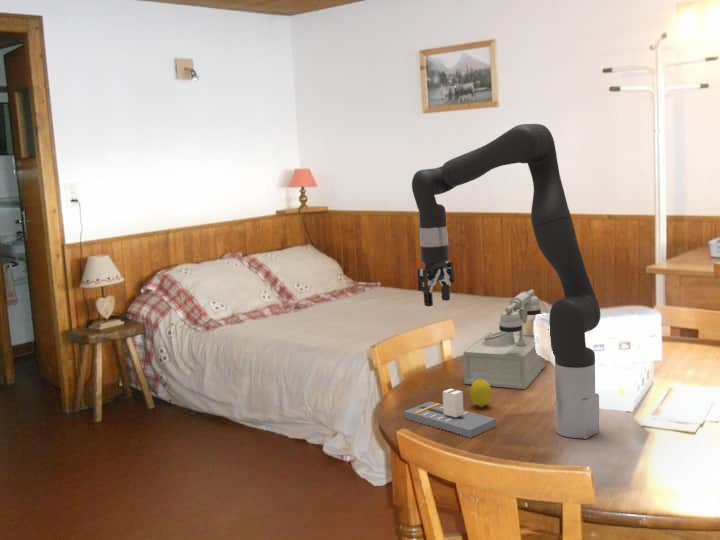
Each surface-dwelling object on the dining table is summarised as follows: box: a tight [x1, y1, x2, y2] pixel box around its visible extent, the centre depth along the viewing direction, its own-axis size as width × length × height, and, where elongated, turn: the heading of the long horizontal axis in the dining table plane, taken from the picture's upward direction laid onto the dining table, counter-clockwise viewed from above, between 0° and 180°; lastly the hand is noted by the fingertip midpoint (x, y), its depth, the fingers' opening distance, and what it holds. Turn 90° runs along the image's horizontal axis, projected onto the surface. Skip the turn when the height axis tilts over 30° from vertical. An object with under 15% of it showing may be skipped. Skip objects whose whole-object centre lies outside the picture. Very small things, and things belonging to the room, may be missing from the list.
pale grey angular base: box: [463, 289, 547, 390], centre depth 245 cm, size 32×20×25 cm, turn 154°
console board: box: [404, 400, 497, 439], centre depth 209 cm, size 22×10×2 cm, turn 42°
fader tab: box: [442, 388, 464, 418], centre depth 207 cm, size 4×3×6 cm
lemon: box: [469, 378, 492, 408], centre depth 218 cm, size 6×6×8 cm
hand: (437, 303), depth 222 cm, fingers open, 8 cm apart
